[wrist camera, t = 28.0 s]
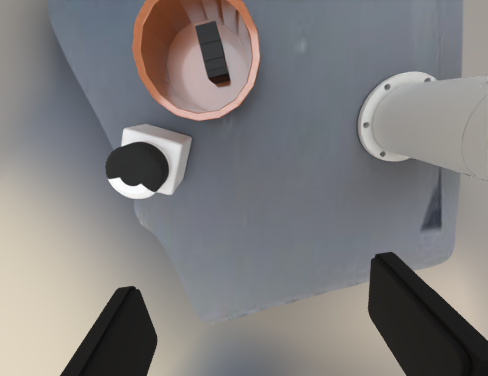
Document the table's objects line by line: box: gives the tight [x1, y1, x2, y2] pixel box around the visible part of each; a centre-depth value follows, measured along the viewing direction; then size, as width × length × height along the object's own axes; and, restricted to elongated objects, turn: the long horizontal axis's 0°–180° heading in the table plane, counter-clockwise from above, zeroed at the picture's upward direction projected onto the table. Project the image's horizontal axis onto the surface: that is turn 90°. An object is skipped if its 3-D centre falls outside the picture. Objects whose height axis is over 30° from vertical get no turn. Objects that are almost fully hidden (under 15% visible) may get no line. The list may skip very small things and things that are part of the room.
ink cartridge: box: [195, 21, 231, 84], centre depth 27 cm, size 5×2×8 cm, turn 12°
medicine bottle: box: [106, 124, 192, 199], centre depth 30 cm, size 7×7×12 cm
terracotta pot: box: [132, 0, 261, 121], centre depth 27 cm, size 12×12×10 cm
